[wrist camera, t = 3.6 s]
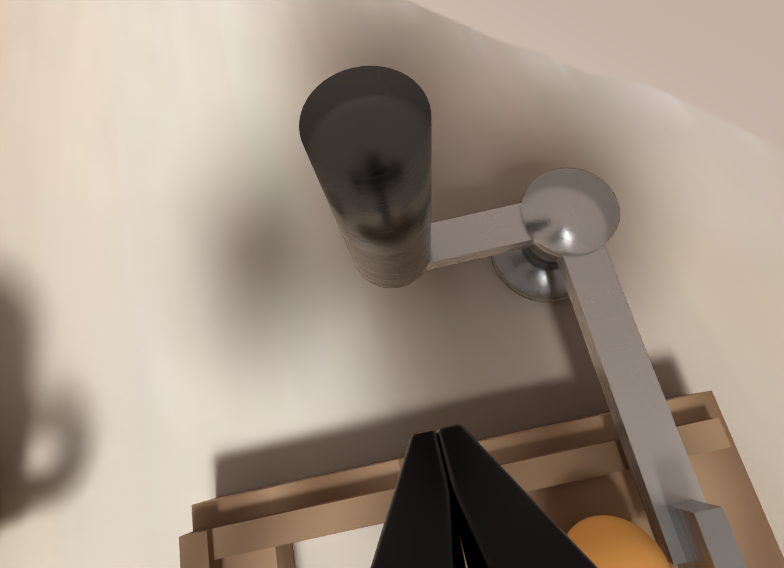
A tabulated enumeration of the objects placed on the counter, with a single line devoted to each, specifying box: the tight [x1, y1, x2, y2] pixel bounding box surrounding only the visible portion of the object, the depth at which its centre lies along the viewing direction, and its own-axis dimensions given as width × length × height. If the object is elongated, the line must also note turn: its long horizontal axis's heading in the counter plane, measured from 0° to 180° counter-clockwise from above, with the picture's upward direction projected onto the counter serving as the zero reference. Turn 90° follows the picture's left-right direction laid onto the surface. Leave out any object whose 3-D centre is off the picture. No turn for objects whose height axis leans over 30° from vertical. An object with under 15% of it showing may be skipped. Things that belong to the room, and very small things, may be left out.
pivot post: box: [491, 202, 570, 302], centre depth 20 cm, size 5×5×3 cm
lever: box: [299, 66, 747, 568], centre depth 12 cm, size 10×15×9 cm
